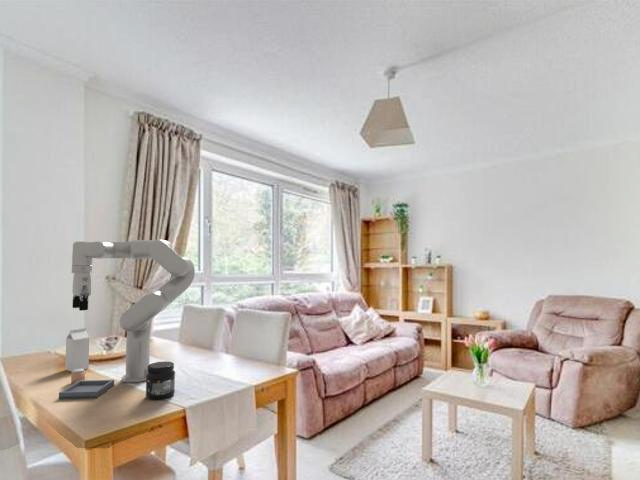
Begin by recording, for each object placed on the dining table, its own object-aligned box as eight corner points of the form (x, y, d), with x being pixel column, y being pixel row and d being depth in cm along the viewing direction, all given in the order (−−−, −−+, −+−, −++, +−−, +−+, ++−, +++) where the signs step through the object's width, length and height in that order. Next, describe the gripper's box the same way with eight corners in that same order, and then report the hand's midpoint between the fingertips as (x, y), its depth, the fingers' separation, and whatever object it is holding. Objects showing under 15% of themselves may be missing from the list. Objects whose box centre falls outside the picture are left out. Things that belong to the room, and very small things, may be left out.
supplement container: (153, 390, 154) (153, 360, 155) (179, 391, 154) (179, 361, 154) (140, 400, 144) (140, 368, 144) (167, 401, 143) (168, 368, 144)
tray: (114, 385, 160) (114, 379, 160) (97, 398, 146) (97, 391, 146) (79, 386, 159) (79, 380, 159) (58, 399, 145) (58, 392, 145)
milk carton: (88, 368, 184) (89, 328, 184) (72, 372, 178) (73, 331, 178) (81, 366, 187) (82, 327, 188) (65, 370, 181) (66, 329, 182)
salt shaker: (87, 380, 166) (87, 368, 166) (81, 384, 161) (81, 371, 161) (75, 381, 166) (75, 368, 166) (68, 385, 161) (68, 371, 161)
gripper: (97, 270, 165) (96, 310, 164) (85, 268, 176) (83, 306, 176) (77, 270, 159) (76, 312, 158) (66, 269, 171) (64, 307, 170)
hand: (80, 308), depth 167 cm, fingers open, 9 cm apart
